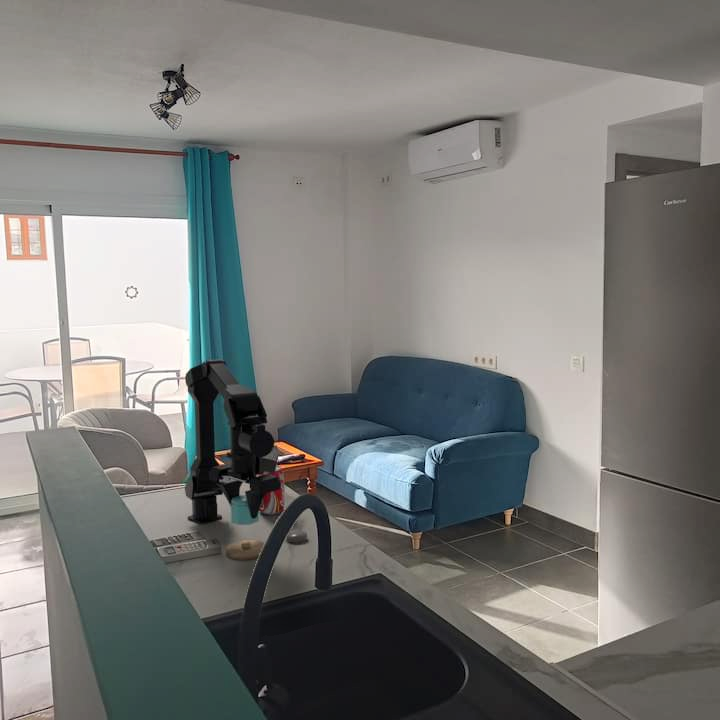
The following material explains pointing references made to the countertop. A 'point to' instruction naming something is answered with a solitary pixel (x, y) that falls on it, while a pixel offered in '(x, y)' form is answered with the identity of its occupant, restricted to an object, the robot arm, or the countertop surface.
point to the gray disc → (296, 537)
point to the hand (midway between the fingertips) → (245, 515)
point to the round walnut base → (244, 549)
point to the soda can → (273, 496)
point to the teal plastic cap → (241, 511)
